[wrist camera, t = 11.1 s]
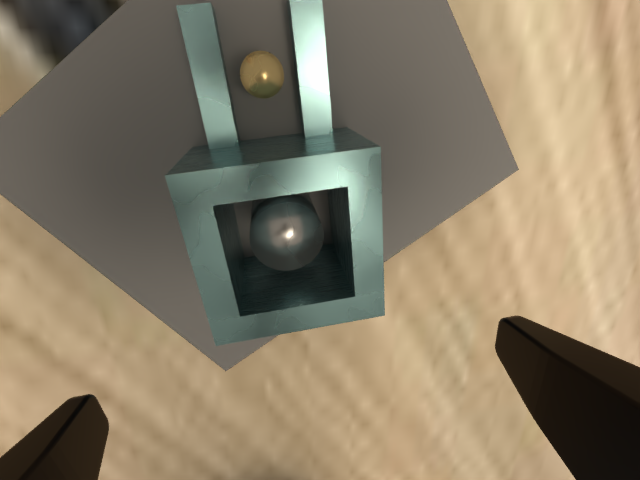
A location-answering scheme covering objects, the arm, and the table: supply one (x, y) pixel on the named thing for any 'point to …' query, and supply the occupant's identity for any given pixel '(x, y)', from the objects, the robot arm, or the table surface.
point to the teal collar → (272, 181)
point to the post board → (241, 135)
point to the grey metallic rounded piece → (285, 231)
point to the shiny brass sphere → (262, 74)
